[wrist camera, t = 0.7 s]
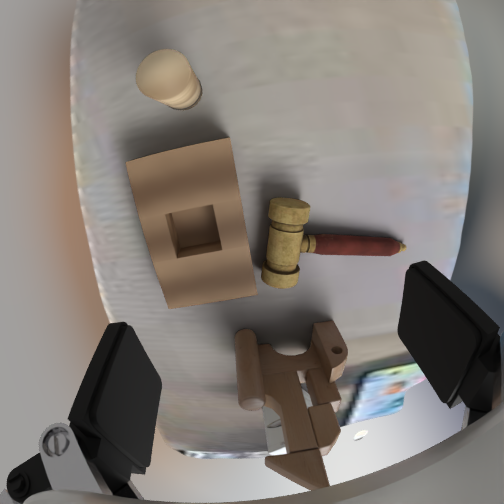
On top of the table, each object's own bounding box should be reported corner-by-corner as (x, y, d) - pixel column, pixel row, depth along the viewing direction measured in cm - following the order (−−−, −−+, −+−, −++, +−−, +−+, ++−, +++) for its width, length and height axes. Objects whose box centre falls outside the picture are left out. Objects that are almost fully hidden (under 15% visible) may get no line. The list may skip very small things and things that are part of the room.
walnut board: (137, 158, 29) (125, 162, 26) (229, 137, 30) (229, 137, 26) (173, 292, 37) (169, 309, 33) (254, 278, 37) (257, 294, 33)
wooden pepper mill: (165, 82, 26) (132, 57, 15) (201, 74, 26) (186, 42, 15) (170, 115, 28) (139, 106, 17) (206, 107, 28) (194, 91, 17)
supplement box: (293, 379, 46) (308, 438, 35) (312, 395, 49) (327, 448, 37) (259, 396, 47) (267, 454, 36) (280, 411, 50) (290, 463, 39)
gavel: (423, 220, 33) (404, 285, 36) (404, 210, 37) (388, 271, 41) (275, 205, 29) (264, 289, 33) (266, 195, 33) (258, 271, 37)
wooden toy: (335, 318, 41) (404, 459, 18) (329, 349, 44) (383, 480, 21) (233, 328, 40) (245, 495, 17) (236, 360, 43) (248, 508, 20)
